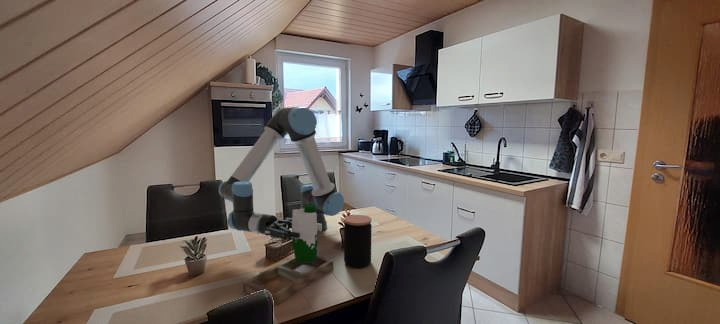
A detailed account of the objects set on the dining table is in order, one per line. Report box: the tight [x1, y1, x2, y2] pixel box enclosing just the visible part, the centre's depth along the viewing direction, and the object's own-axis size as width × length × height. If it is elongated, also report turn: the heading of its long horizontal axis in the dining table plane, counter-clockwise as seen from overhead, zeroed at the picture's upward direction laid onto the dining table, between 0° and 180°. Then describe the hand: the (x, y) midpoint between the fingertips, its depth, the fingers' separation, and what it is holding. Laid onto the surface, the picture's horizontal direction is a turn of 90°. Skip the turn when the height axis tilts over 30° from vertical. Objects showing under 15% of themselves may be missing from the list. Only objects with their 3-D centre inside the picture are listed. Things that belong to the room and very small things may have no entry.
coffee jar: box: [343, 214, 372, 269], centre depth 118 cm, size 11×11×18 cm
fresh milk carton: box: [291, 204, 319, 265], centre depth 110 cm, size 9×9×20 cm
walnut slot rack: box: [242, 255, 334, 306], centre depth 106 cm, size 28×15×3 cm, turn 148°
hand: (315, 231), depth 108 cm, fingers closed on fresh milk carton, 8 cm apart
